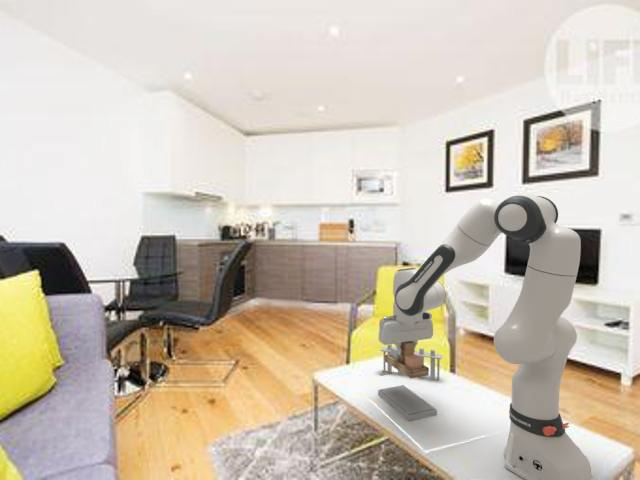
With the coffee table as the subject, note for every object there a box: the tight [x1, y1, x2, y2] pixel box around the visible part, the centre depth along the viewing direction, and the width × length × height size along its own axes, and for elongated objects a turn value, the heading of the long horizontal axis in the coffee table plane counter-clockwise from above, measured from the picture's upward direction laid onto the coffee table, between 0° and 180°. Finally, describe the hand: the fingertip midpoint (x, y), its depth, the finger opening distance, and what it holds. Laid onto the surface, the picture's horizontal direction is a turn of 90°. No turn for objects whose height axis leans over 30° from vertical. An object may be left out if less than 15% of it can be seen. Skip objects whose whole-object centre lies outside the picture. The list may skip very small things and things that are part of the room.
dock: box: [377, 384, 438, 422], centre depth 132 cm, size 20×11×3 cm, turn 20°
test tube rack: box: [379, 344, 443, 382], centre depth 156 cm, size 25×4×13 cm, turn 65°
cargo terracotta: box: [405, 354, 422, 370], centre depth 127 cm, size 4×4×4 cm
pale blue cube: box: [391, 346, 398, 361], centre depth 136 cm, size 4×4×4 cm
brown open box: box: [385, 341, 430, 379], centre depth 131 cm, size 16×7×10 cm, turn 21°
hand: (406, 353), depth 131 cm, fingers closed on brown open box, 3 cm apart
